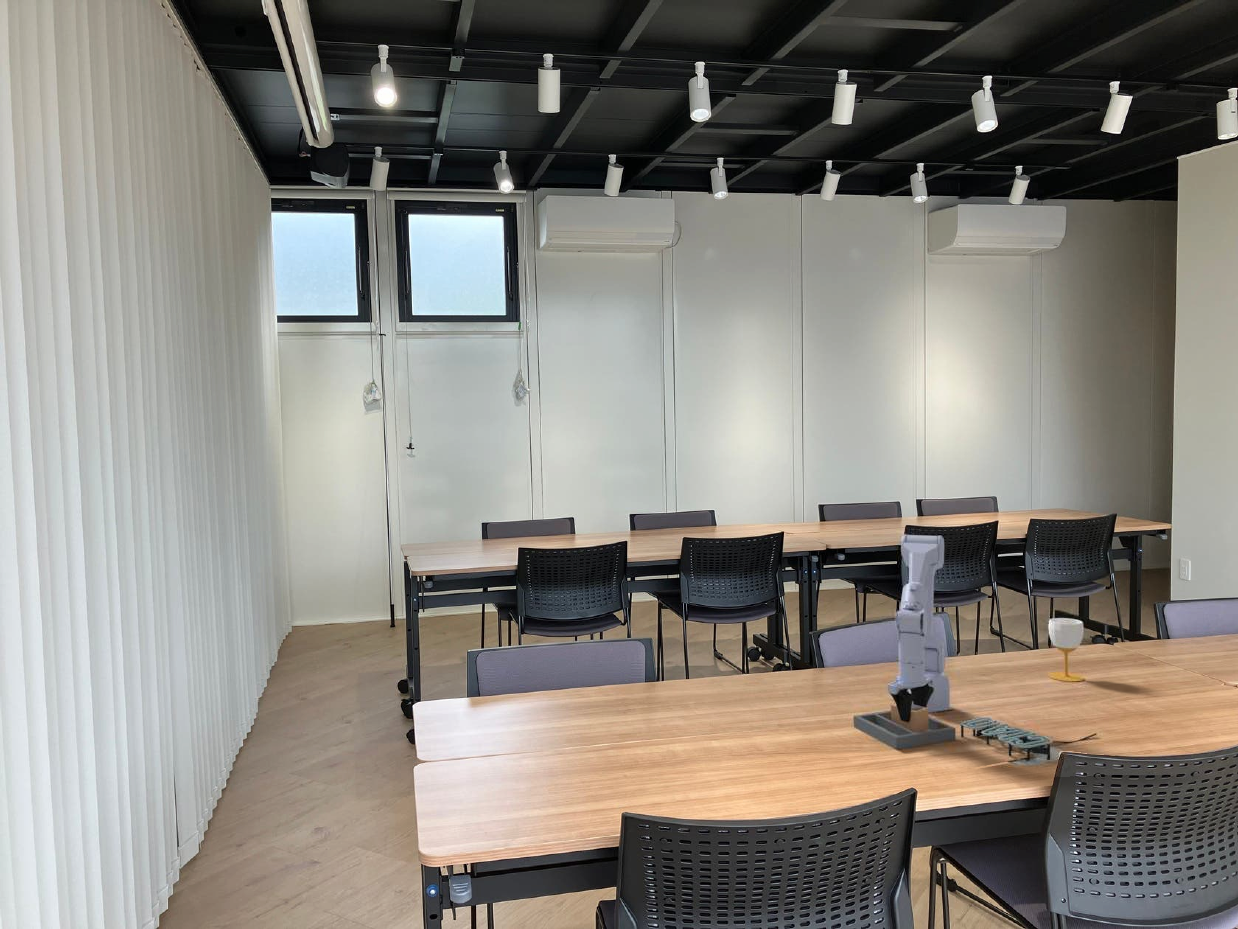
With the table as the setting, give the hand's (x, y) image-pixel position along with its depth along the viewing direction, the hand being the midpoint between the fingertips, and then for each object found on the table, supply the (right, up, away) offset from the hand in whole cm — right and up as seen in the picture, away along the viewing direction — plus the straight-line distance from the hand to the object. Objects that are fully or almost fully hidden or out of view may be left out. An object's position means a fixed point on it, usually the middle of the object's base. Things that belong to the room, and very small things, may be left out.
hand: (912, 719), depth 198 cm
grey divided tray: (-2, -4, -1) cm, 4 cm away
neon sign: (+25, -4, -6) cm, 26 cm away
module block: (0, -2, +1) cm, 2 cm away
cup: (+58, -1, +42) cm, 72 cm away
